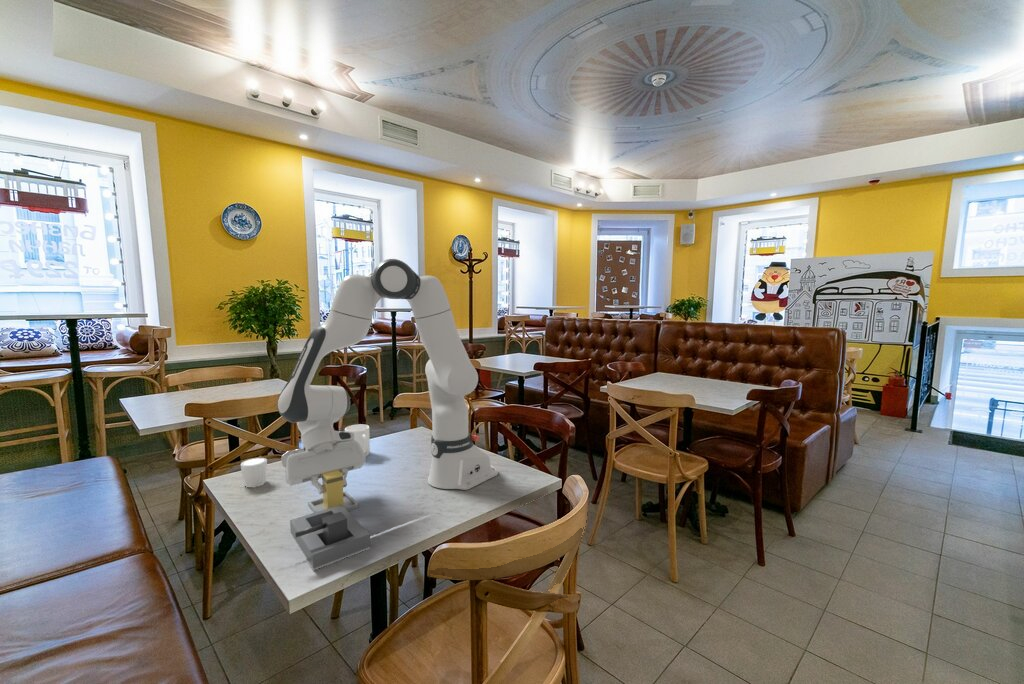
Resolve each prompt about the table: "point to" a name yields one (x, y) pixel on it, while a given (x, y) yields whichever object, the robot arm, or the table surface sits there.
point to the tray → (347, 499)
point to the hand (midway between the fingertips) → (333, 489)
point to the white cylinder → (254, 472)
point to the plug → (333, 489)
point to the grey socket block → (329, 536)
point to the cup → (361, 436)
